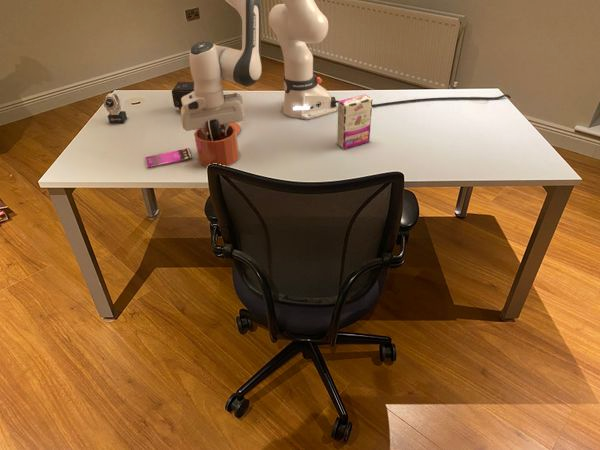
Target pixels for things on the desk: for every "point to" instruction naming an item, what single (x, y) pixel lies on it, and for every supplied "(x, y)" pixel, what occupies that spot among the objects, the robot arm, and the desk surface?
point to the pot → (217, 147)
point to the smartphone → (168, 157)
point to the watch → (114, 109)
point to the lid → (235, 127)
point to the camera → (181, 92)
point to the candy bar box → (354, 121)
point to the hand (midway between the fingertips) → (215, 136)
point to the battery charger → (213, 129)
